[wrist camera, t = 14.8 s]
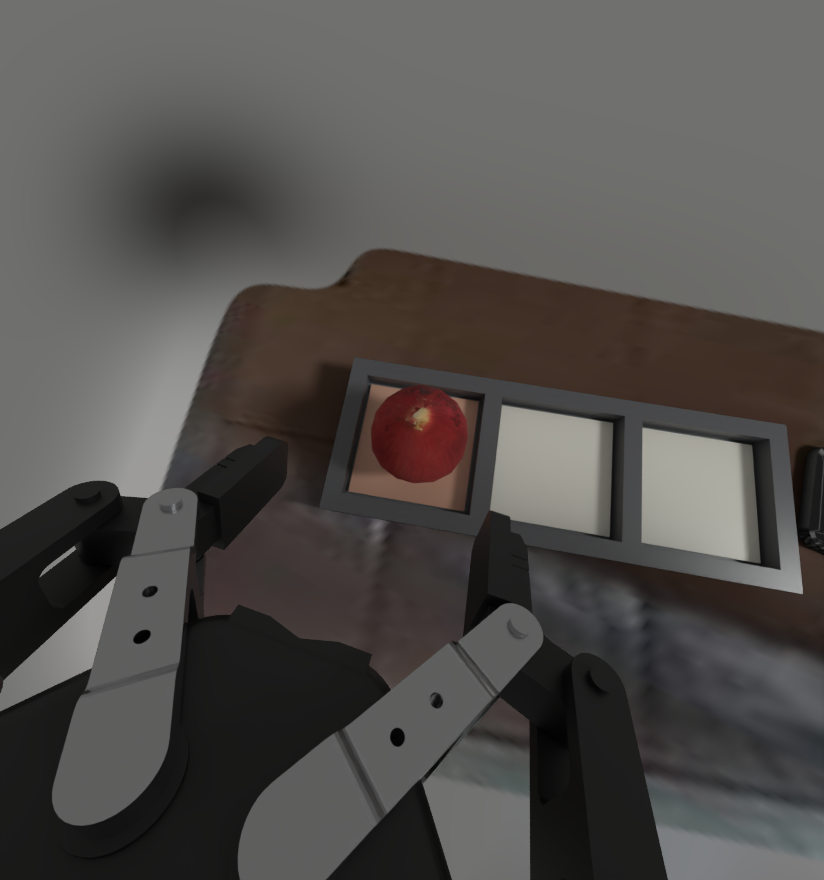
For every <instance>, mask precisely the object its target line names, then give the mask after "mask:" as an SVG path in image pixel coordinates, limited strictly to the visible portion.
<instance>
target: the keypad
mask: <svg viewBox="0 0 824 880" xmlns="http://www.w3.org/2000/svg"><path fill="white" fill-rule="evenodd" d="M372 384H373V385H379V386H385V387H391V388H398V389H403V388H407V387H412V386H417V385H425V386H428V387H432V388H436V389H439V390H442V391H443V392H444V393H446V394H447V395H448V396H449V397H454V398H460V399H466V400H472V401H479V404H478V412H477V419H476V427H475V434H474V442H473V449H472V457H471V464H470V472H469V479H468V487H467V494H466V502H465V509H464V512H462V511H456V510H450V509H444V508H439V507H433V506H427V505H422V504H416V503H410V502H405V501H399V500H393V499H387V498H382V497H376V496H370V495H365V494H359V493H353V492H349V486H350V481H351V477H352V472H353V468H354V463H355V458H356V454H357V449H358V445H359V440H360V435H361V431H362V426H363V422H364V417H365V412H366V408H367V403H368V399H369V394H370V389H371V385H372ZM319 508H321V509H326V510H331V511H337V512H342V513H348V514H354V515H359V516H365V517H370V518H376V519H382V520H387V521H393V522H399V523H404V524H410V525H415V526H421V527H427V528H432V529H438V530H443V531H449V532H455V533H460V534H466V535H472V536H477V535H478V532H479V530H480V528H481V526H482V524H483V522H484V520H485V517H486V515H487V513H488V511H489V510H492V511H495V512H498V513H501V514H504V515H507V516H510V521H511V532H514V533H517V534H520V535H521V537H522V539H523V541H524V543H525V545H528V546H533V547H539V548H545V549H550V550H556V551H561V552H567V553H573V554H578V555H584V556H589V557H595V558H601V559H606V560H612V561H617V562H623V563H629V564H634V565H640V566H646V567H651V568H657V569H662V570H668V571H674V572H679V573H685V574H690V575H696V576H702V577H707V578H713V579H719V580H724V581H730V582H735V583H741V584H747V585H752V586H758V587H764V588H769V589H775V590H781V591H787V592H793V593H799V594H803V589H802V579H801V569H800V559H799V549H798V538H797V528H796V518H795V508H794V498H793V488H792V477H791V467H790V457H789V447H788V437H787V427H786V425H782V424H776V423H769V422H763V421H757V420H750V419H744V418H737V417H731V416H725V415H718V414H712V413H706V412H699V411H693V410H686V409H680V408H674V407H667V406H661V405H655V404H648V403H642V402H636V401H629V400H623V399H616V398H610V397H604V396H597V395H591V394H585V393H578V392H572V391H565V390H559V389H553V388H546V387H540V386H534V385H527V384H521V383H515V382H508V381H502V380H495V379H489V378H483V377H476V376H470V375H464V374H457V373H451V372H444V371H438V370H432V369H425V368H419V367H413V366H406V365H400V364H394V363H387V362H381V361H374V360H368V359H362V358H355V357H354V361H353V365H352V370H351V374H350V378H349V382H348V387H347V391H346V395H345V399H344V404H343V408H342V412H341V416H340V421H339V425H338V429H337V433H336V438H335V442H334V446H333V450H332V455H331V459H330V463H329V467H328V472H327V476H326V480H325V484H324V489H323V493H322V497H321V501H320V505H319Z"/></svg>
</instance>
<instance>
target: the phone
mask: <svg viewBox="0 0 824 880" xmlns="http://www.w3.org/2000/svg"><path fill="white" fill-rule="evenodd" d="M798 534H799V537H800V539H801V540H802V542H803V543H804V544H805V545H806V546H807V547H809V548H811V549H813V550H815V551H818V552H821V553H823V554H824V447H821V448H816V449H813V450H811V451H810V452H809V453H808V455H807V459H806V466H805V474H804V482H803V490H802V498H801V506H800V514H799V522H798Z"/></svg>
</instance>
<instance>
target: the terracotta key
mask: <svg viewBox="0 0 824 880" xmlns="http://www.w3.org/2000/svg"><path fill="white" fill-rule="evenodd" d="M399 390H401V389H398V388H391V387H385V386H379V385H373V384H372V385H371V389H370V394H369V399H368V403H367V408H366V412H365V417H364V422H363V426H362V431H361V435H360V440H359V445H358V449H357V454H356V458H355V463H354V468H353V472H352V477H351V481H350V486H349V492H353V493H359V494H365V495H370V496H376V497H382V498H387V499H393V500H399V501H405V502H410V503H416V504H422V505H427V506H433V507H439V508H444V509H450V510H456V511H462V512H464V509H465V502H466V494H467V487H468V479H469V472H470V464H471V457H472V449H473V442H474V434H475V427H476V419H477V412H478V404H479V401H472V400H466V399H460V398H454V397H451V398H452V399H453V400H455V401H456V402H457V403H458V405H459V407H460V408H461V410H462V412H463V414H464V416H465V418H466V420H467V431H468V441H467V444H466V448H465V452H464V455H463V458H462V460H461V461H460V462H459V464H458V465H457V466H456V467H455V469H454V470H453V471H452V473H451V474H449V475H447V476H445V477H443V478H441V479H439V480H437V481H435V482H427V483H411V482H407V481H404V480H400V479H397V478H395V477H394V476H393V475H391V474H390V473H389V472H387V471H386V470H385V469H384V468H382V467H381V466H380V464H379V462H378V460H377V458H376V457H375V455H374V453H373V451H372V442H371V427H372V423H373V420H374V416H375V413H376V411H377V410H378V408H379V407H380V406H381V405H382V403H383V402H384V401H385V400H386V398H387V397H389V396H391V395H392V394H394V393H396V392H397V391H399Z"/></svg>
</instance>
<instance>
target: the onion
mask: <svg viewBox="0 0 824 880" xmlns="http://www.w3.org/2000/svg"><path fill="white" fill-rule="evenodd" d="M467 441H468V431H467V420H466V418H465V416H464V414H463V412H462V410H461V408H460V407H459V405H458V403H457V402H456V401H455V400H453V399H452V398H451V397H449V396H448V395H447V394H446V393H444V392H443V391H442V390H439V389H436V388H432V387H428V386H425V385H417V386H412V387H407V388H403V389H401V390H399V391H397V392H396V393H394V394H392V395H391V396H389V397H387V398H386V400H385V401H384V402H383V403H382V405H381V406H380V407H379V408H378V410H377V411H376V413H375V416H374V420H373V423H372V427H371V442H372V451H373V453H374V455H375V457H376V458H377V460H378V462H379V464H380V466H381V467H382V468H384V469H385V470H386V471H387V472H389V473H390V474H391V475H393V476H394V477H395V478H397V479H400V480H404V481H407V482H411V483H427V482H435V481H437V480H439V479H441V478H443V477H445V476H447V475H449V474H451V473H452V471H453V470H454V469H455V467H456V466H457V465H458V464H459V462H460V461H461V460H462V458H463V455H464V452H465V448H466V444H467Z"/></svg>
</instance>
